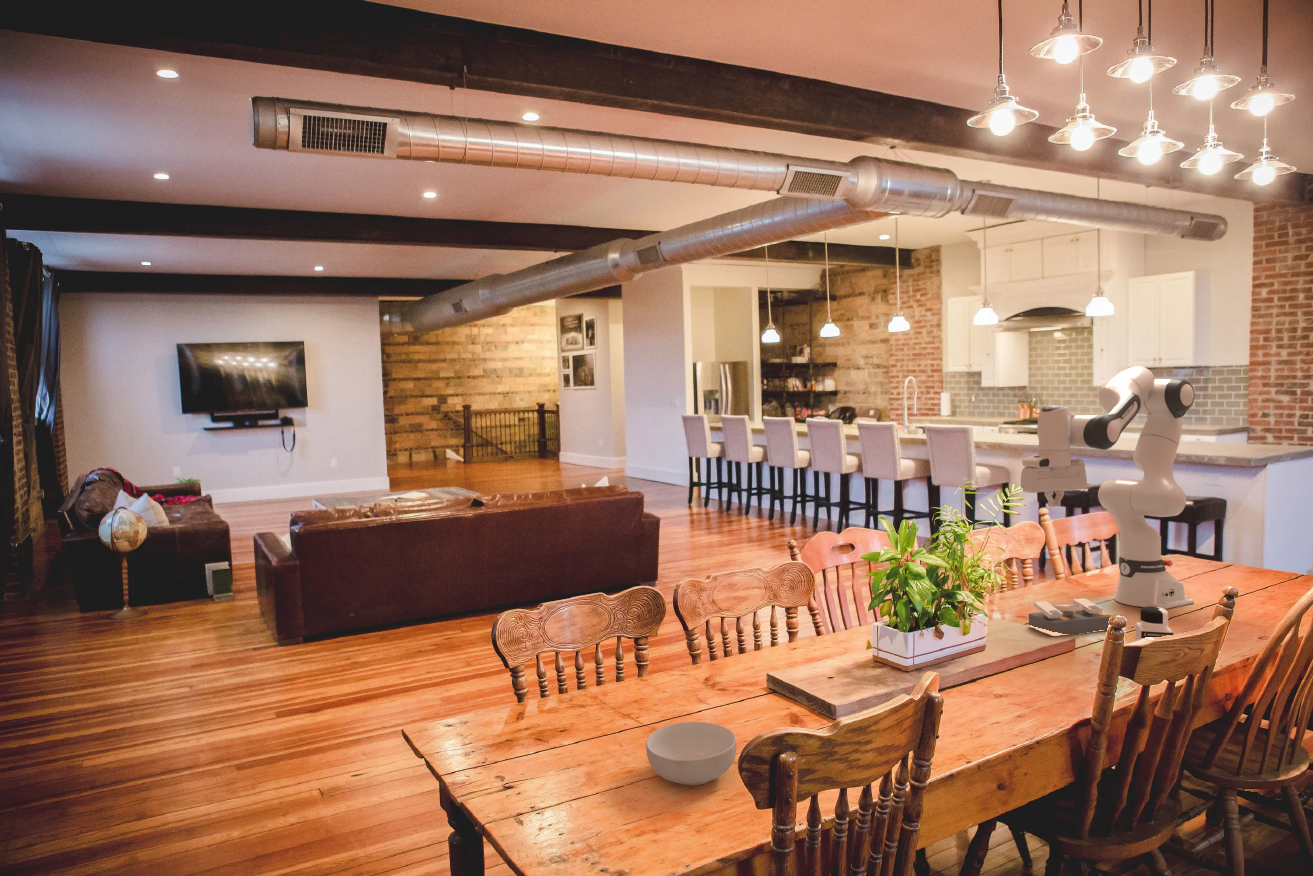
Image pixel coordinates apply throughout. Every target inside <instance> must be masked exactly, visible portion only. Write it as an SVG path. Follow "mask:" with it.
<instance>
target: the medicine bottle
mask: <svg viewBox="0 0 1313 876" xmlns="http://www.w3.org/2000/svg"><path fill="white" fill-rule="evenodd" d="M1139 611H1140V616H1139V617H1140V622H1138V621H1137V622H1135V641H1136V640H1137V639H1141V638H1145V637H1162V636H1166V635H1173V636H1174V631H1173V630H1172V629H1171V628H1170V627H1169V611H1167V609H1163V608H1160V607H1153V606H1147V607H1141V608H1140V610H1139Z"/></svg>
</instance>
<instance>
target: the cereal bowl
mask: <svg viewBox="0 0 1313 876" xmlns="http://www.w3.org/2000/svg"><path fill="white" fill-rule="evenodd" d="M645 747H646V748H645V749H646V756H647V760H648V764H649V766H650V767H651V768H652V770H653V771H654V773H656V774H657V775H658V776H660V777H661V778H663V779H665V780H667V781H669V782H673V783H677V784H679V785H682V786H683V785H684V786H688V787H689V786H691V787H693V786H702V785H705V784H707V783H709V782H710V781H713V780H717V779H718V778H719V777H722V775H724V774H725V773H727V771H729V769H730V768H731V767H732V765H733V763H734V762H735V760H736V759H735V758H736V756H737V755H736V754H737V738H736V736H735V734H734V732H733V731H732V730H730V729H729V728H727V727H726V726H722V725H720V724H716V723H712V722H707V721H682V722H675V723H670V724H668V725H664V726H661V727H660V728H658V729H656V730H654V731H652V732H651V733H650V734H649V735H648V737H647V738H646V741H645Z"/></svg>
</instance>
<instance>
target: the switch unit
mask: <svg viewBox="0 0 1313 876" xmlns="http://www.w3.org/2000/svg"><path fill="white" fill-rule="evenodd" d="M1059 611H1060V612H1061V613H1063V616H1062V617H1061V618H1052V619H1050V618H1048V617H1047V616H1046V615H1044V614H1043V613H1042V612H1041V611H1039V612H1032V613H1028V626H1029V625H1032V626H1034V627H1038V628H1042V629H1046V630H1049V631H1052V632H1058V633H1062V634H1076V635H1080V634H1079V633H1085V634H1088V633H1087V632H1093V631H1099V630H1105V631H1104V632H1107V631H1106V630H1107V628H1108V625H1109V623H1108V621H1109V618H1110V617H1111V616H1113V615H1112V614H1109V613H1107V612H1104V611H1102V612H1099V613H1088V612H1086V611H1085V610H1078V611H1062V610H1059ZM1093 633H1094V632H1093Z"/></svg>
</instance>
